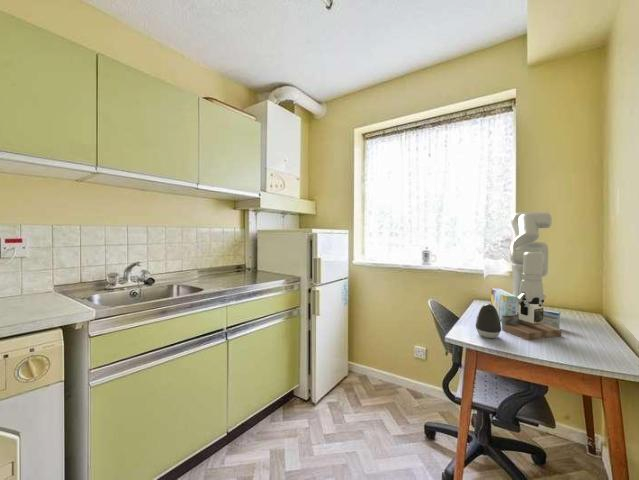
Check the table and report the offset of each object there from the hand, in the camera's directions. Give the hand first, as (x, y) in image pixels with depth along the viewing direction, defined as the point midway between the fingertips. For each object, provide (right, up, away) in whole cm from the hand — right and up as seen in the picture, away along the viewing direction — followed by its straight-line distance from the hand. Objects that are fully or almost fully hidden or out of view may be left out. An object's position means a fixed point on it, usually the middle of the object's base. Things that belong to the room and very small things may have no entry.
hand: (530, 313), depth 138 cm
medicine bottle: (0, -4, 0) cm, 4 cm away
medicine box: (+15, -9, +7) cm, 19 cm away
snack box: (0, -9, +22) cm, 24 cm away
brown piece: (0, -9, -1) cm, 9 cm away
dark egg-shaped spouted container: (-24, -9, -5) cm, 26 cm away
